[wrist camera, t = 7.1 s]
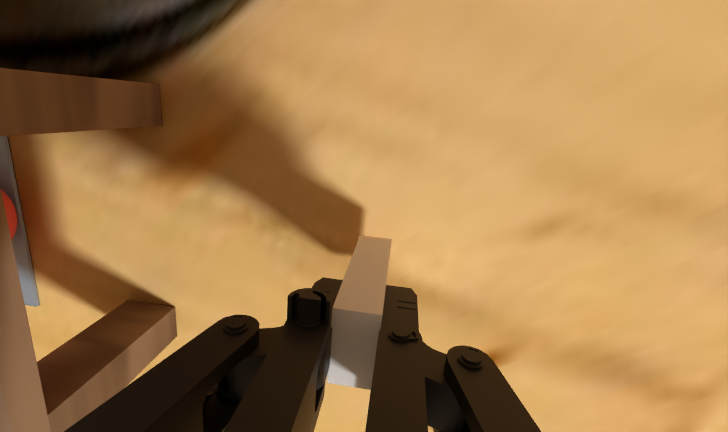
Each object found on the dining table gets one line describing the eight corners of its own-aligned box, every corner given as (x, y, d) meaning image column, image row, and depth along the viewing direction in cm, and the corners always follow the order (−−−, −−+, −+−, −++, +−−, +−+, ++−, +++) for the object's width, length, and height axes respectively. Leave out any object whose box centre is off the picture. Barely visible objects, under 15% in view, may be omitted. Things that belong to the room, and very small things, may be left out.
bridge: (130, 329, 22) (-48, 470, 14) (102, 79, 18) (-182, 50, 9) (177, 336, 22) (25, 484, 13) (159, 84, 18) (-79, 59, 9)
